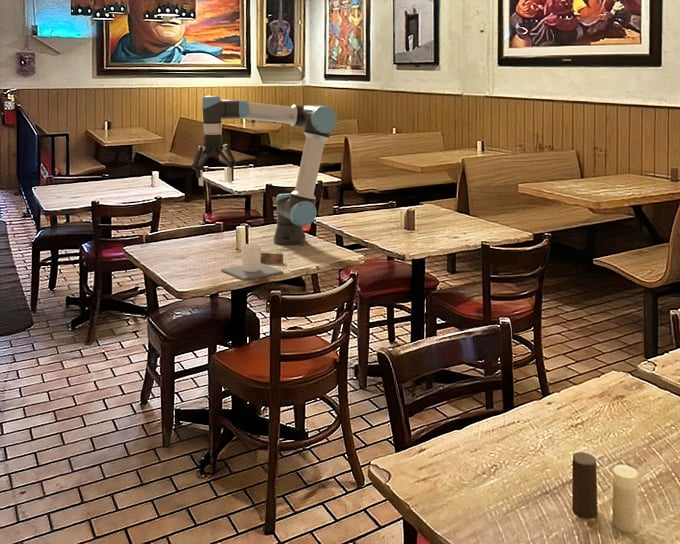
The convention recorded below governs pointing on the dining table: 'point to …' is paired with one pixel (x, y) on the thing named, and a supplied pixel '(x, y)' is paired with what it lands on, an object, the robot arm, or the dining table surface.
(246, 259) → the white cup
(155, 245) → the dining table surface
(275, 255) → the walnut rail
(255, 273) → the grey mat
